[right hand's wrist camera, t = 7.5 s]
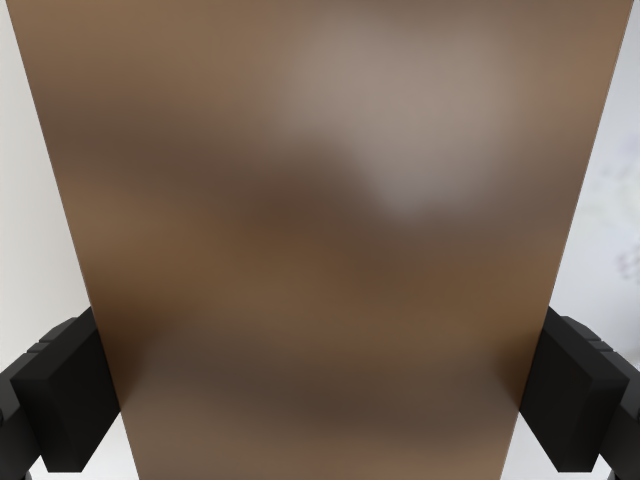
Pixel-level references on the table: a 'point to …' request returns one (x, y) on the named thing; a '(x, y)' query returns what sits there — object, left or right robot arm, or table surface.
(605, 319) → the table surface
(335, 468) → the cabinet
